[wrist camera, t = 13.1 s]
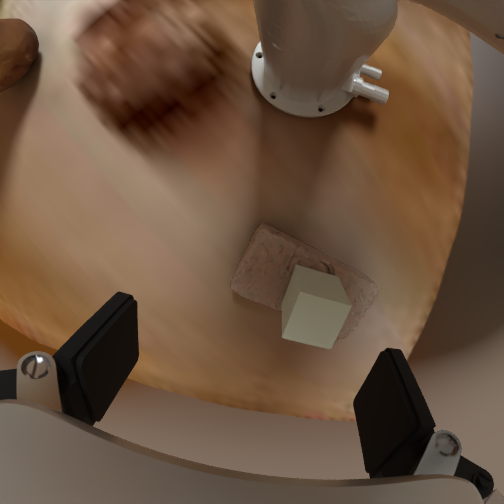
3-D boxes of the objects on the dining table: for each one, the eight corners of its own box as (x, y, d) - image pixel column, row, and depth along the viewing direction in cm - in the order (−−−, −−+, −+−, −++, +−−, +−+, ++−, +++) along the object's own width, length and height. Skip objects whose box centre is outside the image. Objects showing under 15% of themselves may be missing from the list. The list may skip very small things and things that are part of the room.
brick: (373, 277, 35) (385, 292, 31) (340, 326, 38) (346, 346, 33) (261, 217, 35) (258, 226, 30) (232, 275, 37) (225, 290, 33)
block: (338, 276, 31) (351, 305, 24) (322, 314, 33) (330, 349, 26) (295, 264, 31) (299, 291, 24) (281, 303, 33) (281, 337, 26)
